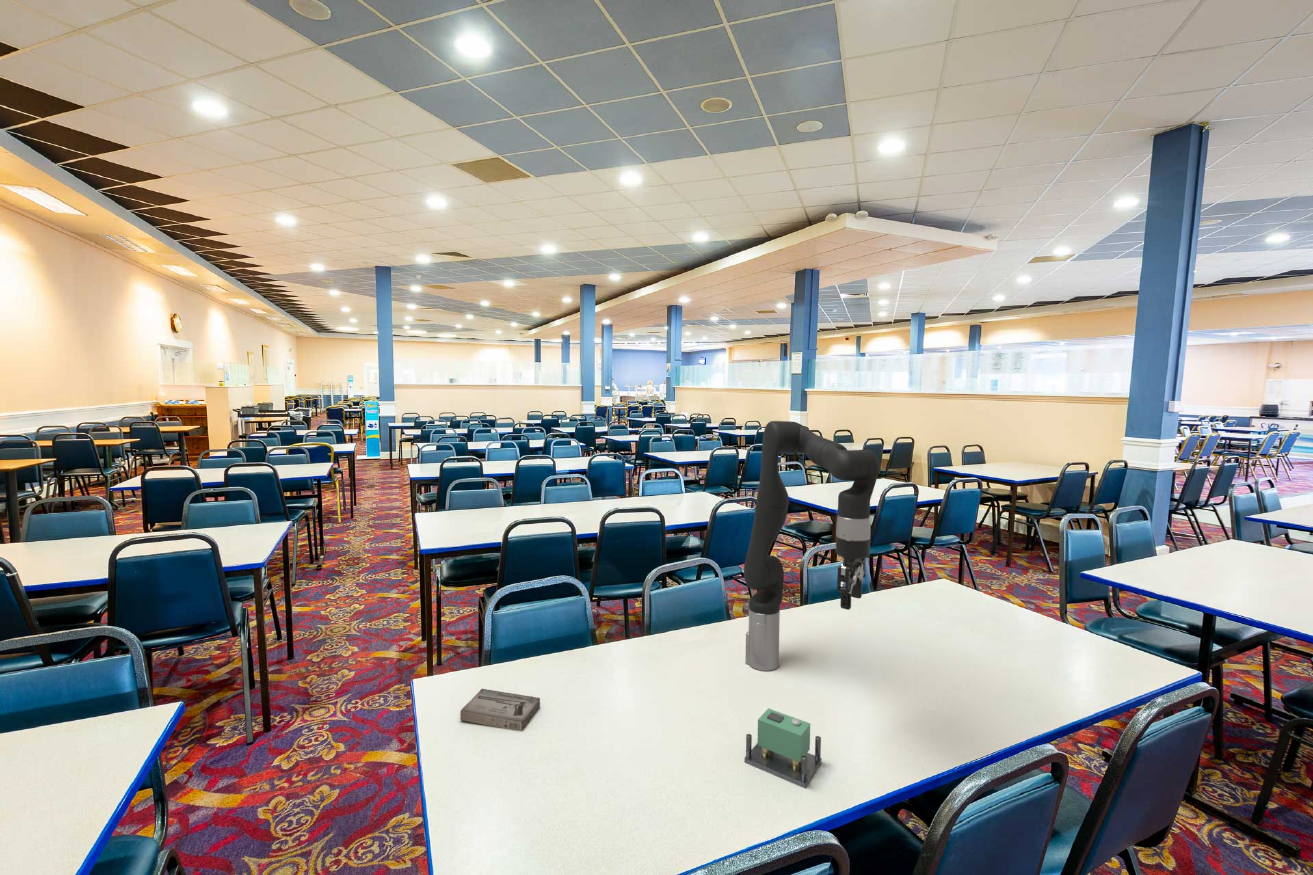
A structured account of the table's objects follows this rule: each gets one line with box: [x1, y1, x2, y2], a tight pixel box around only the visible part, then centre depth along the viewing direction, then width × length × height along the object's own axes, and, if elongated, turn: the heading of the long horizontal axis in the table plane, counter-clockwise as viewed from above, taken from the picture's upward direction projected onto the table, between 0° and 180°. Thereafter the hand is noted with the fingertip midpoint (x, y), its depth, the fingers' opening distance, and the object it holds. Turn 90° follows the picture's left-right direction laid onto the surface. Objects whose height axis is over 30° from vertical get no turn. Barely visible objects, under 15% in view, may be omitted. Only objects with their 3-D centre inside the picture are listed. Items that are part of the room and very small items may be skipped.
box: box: [459, 688, 541, 732], centre depth 141 cm, size 11×17×3 cm, turn 78°
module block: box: [757, 708, 811, 763], centre depth 122 cm, size 10×6×7 cm, turn 54°
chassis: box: [744, 733, 823, 789], centre depth 123 cm, size 14×10×6 cm
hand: (851, 602), depth 129 cm, fingers open, 8 cm apart
